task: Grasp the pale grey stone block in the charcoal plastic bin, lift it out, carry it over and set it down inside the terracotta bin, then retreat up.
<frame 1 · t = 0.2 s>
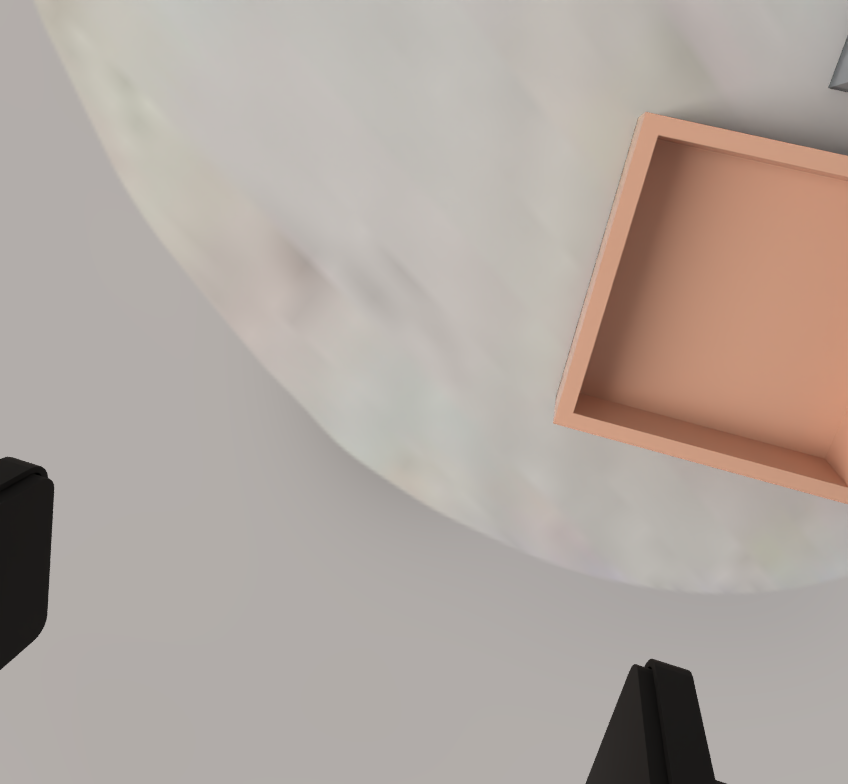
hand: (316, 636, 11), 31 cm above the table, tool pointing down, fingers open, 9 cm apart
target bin: (738, 301, 38), on the table
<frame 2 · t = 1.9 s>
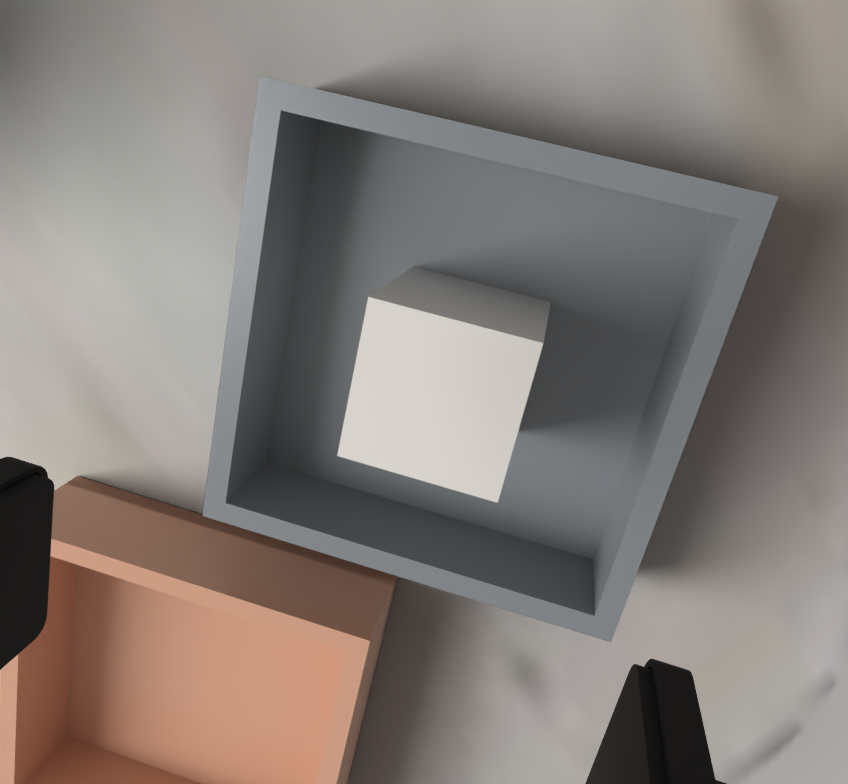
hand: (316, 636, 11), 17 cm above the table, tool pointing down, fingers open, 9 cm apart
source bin: (467, 345, 27), on the table
stone block: (464, 350, 27), point 1 cm above the table, touching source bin
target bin: (213, 660, 34), on the table
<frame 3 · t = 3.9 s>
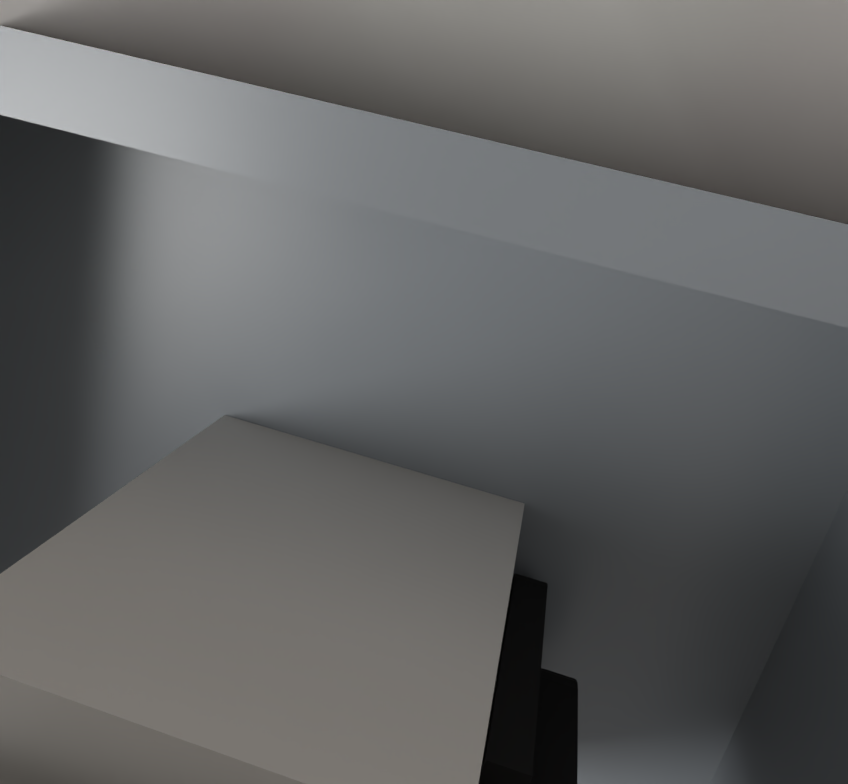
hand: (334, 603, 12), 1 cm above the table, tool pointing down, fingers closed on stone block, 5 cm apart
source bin: (356, 565, 13), on the table
stone block: (342, 589, 12), point 1 cm above the table, touching gripper, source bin
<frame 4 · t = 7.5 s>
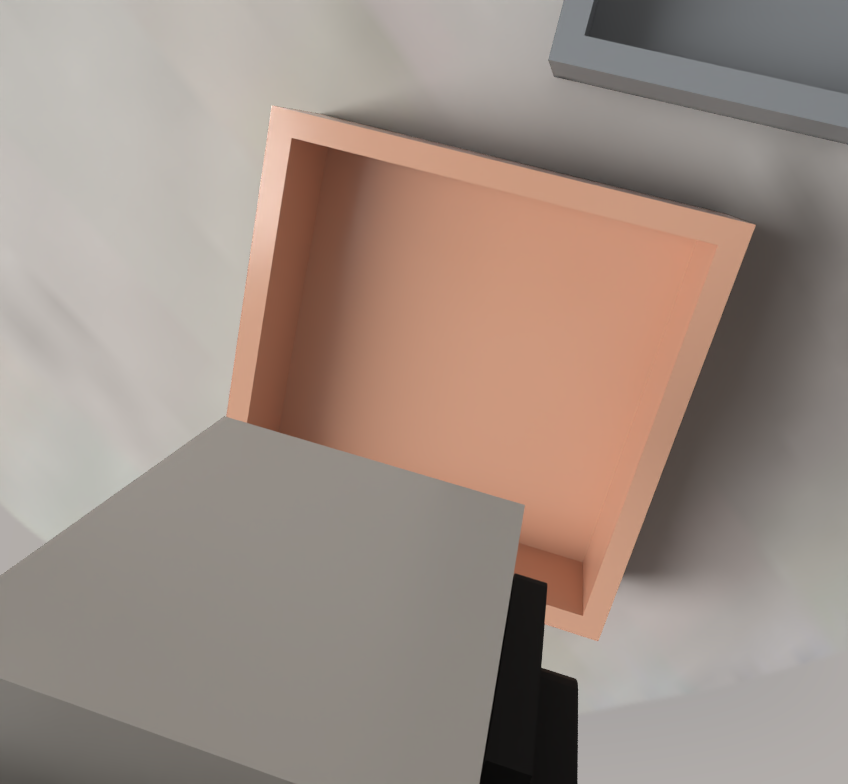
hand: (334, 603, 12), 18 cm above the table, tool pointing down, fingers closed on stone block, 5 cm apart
stone block: (342, 590, 12), point 17 cm above the table, touching gripper
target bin: (465, 357, 29), on the table
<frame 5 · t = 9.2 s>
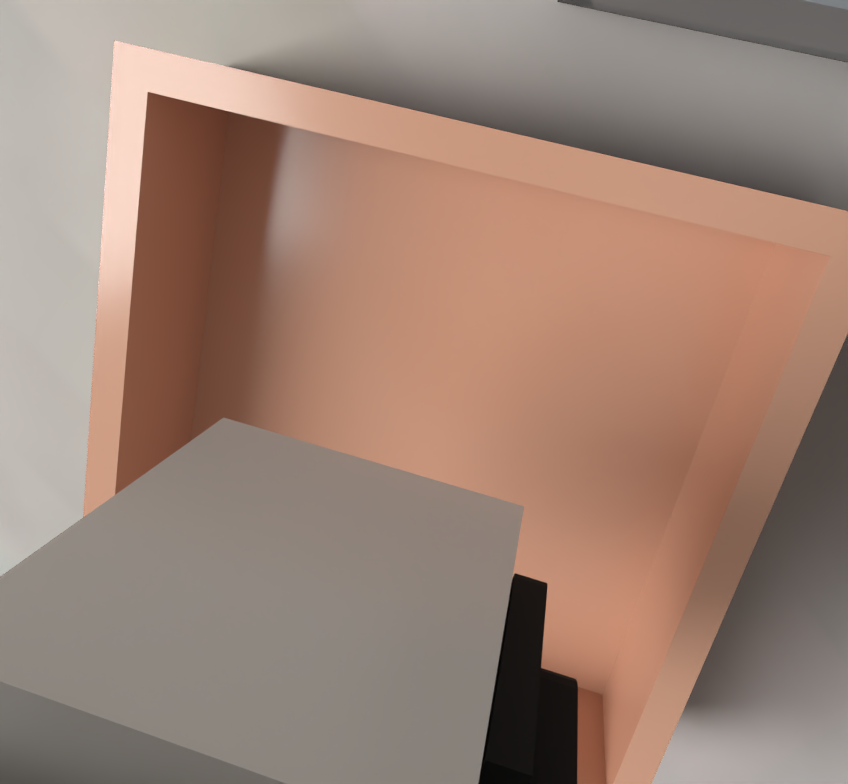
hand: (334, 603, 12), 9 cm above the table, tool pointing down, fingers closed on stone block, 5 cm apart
stone block: (341, 591, 12), point 9 cm above the table, touching gripper
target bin: (435, 412, 20), on the table
when the fingers open (4 cm above the table, at t = 11.0 s): stone block drops 3 cm, resting on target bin.
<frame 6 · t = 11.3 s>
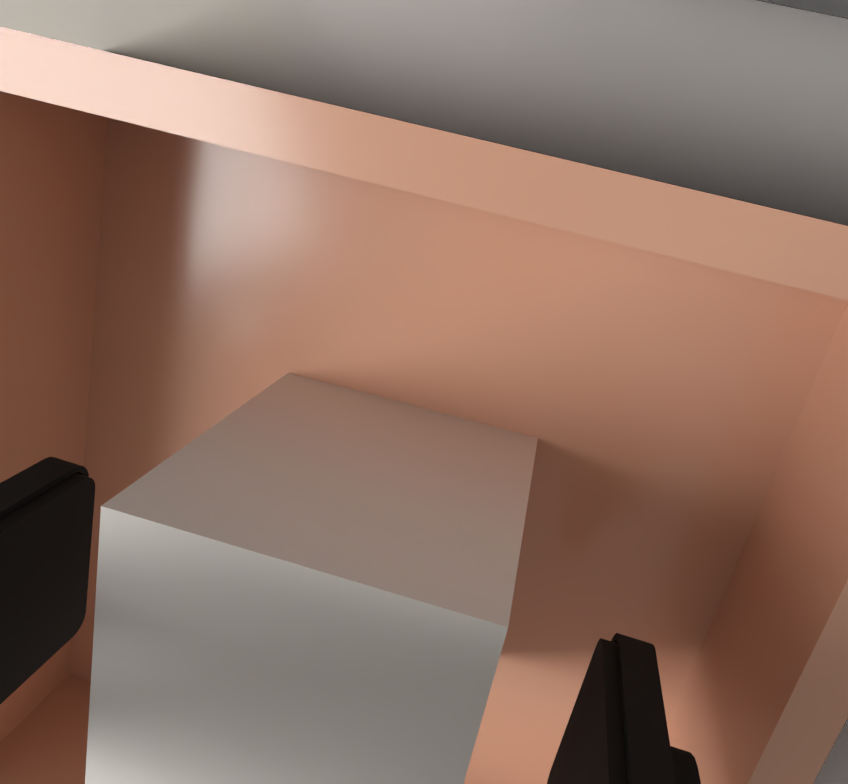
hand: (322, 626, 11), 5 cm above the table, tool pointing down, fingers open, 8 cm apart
stone block: (386, 517, 15), point 1 cm above the table, touching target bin
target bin: (392, 501, 16), on the table
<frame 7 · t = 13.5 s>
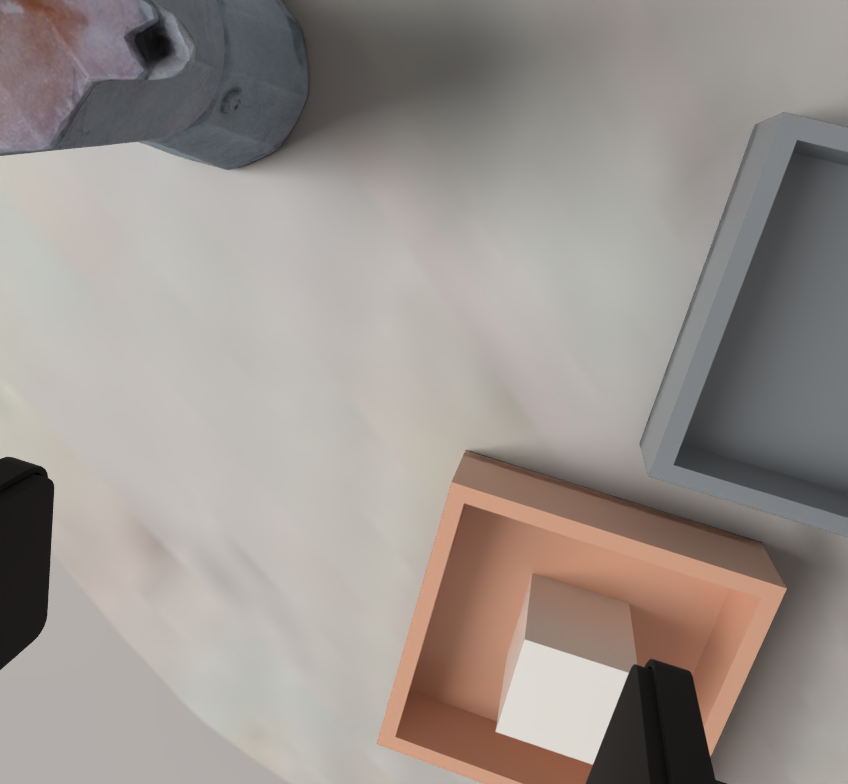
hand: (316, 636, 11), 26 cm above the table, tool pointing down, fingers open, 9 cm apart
stone block: (566, 629, 38), point 1 cm above the table, touching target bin
moka pot: (218, 76, 35), on the table
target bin: (564, 621, 39), on the table
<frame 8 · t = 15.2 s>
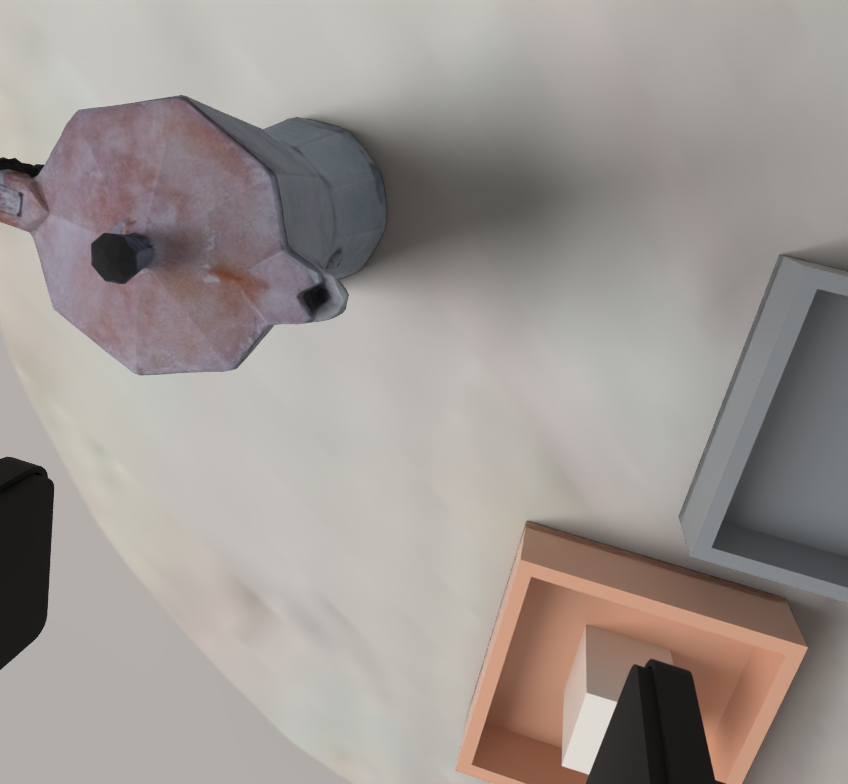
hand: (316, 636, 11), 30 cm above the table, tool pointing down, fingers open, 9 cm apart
stone block: (615, 670, 44), point 1 cm above the table, touching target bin
moka pot: (305, 207, 41), on the table
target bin: (613, 662, 45), on the table
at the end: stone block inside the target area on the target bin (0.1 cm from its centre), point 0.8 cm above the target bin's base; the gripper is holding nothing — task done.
